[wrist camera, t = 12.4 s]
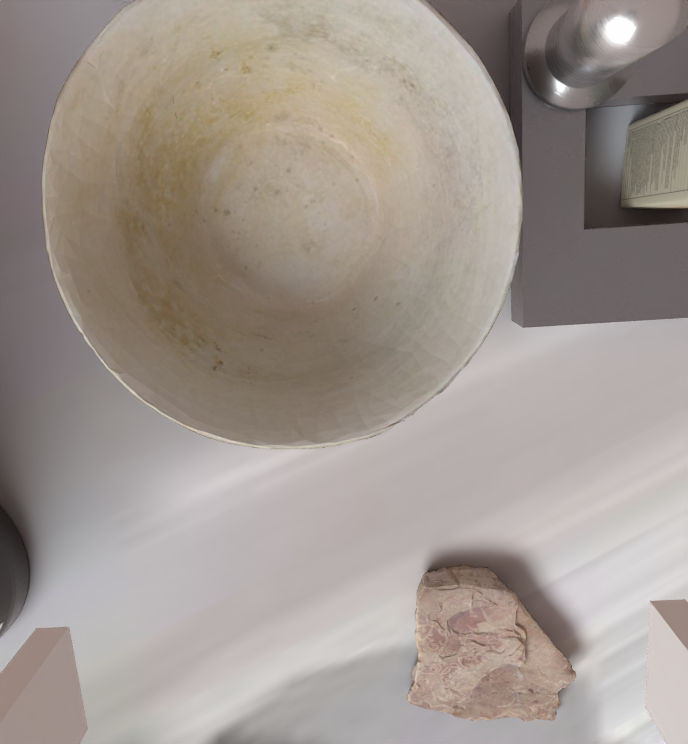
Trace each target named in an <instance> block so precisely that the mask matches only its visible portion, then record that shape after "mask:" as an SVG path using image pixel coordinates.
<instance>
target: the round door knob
mask: <svg viewBox="0 0 688 744" xmlns="http://www.w3.org/2000/svg"><path fill="white" fill-rule="evenodd" d="M687 26H688V0H550V1H548V2H547V3H546V5H545V6H544V7H543V8H542V9H541V10H540V11H539V12H538V14H537V15H536V16H535V18H534V19H533V21H532V22H531V24H530V26H529V28H528V30H527V33H526V36H525V39H524V43H523V49H522V63H523V69H524V73H525V76H526V79H527V81H528V83H529V85H530V87H531V88H532V90H533V91H534V92H535V94H536V95H537V96H538V97H539V98H540V99H542V100H543V101H544V102H546V103H547V104H549V105H551V106H553V107H555V108H558V109H562V110H568V111H578V110H584V109H588V108H591V107H594V106H596V105H598V104H600V103H602V102H604V101H606V100H608V99H609V98H611V97H612V96H613V95H615V94H616V93H617V92H618V91H619V90H620V89H621V88H622V87H623V86H624V84H625V83H626V82H627V81H628V79H629V77H630V76H631V74H632V72H633V70H634V68H635V65H636V62H637V60H639V59H641V58H642V57H644V56H646V55H647V54H649V53H651V52H653V51H654V50H656V49H658V48H659V47H661V46H663V45H665V44H666V43H668V42H670V41H671V40H673V39H674V38H676V37H677V36H678V35H679V34H680V33H681V32H682V31H683V30H684V29H685V28H686V27H687Z"/></svg>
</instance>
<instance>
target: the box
mask: <svg viewBox="0 0 688 744" xmlns="http://www.w3.org/2000/svg"><path fill="white" fill-rule="evenodd" d="M620 206H621V207H622V208H631V209H688V99H687V100H685V101H683V102H680V103H678V104H676V105H673V106H671V107H669V108H667V109H664V110H662V111H660V112H657V113H655V114H652V115H650V116H647V117H645V118H643V119H640V120H638V121H636V122H633V123H631V124H630V125H629V126H628V132H627V139H626V147H625V155H624V167H623V177H622V189H621V204H620Z"/></svg>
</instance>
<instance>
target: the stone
mask: <svg viewBox="0 0 688 744" xmlns="http://www.w3.org/2000/svg"><path fill="white" fill-rule="evenodd" d="M416 606H417V608H416V611H415V620H416V630H415V639H416V644H417V650H418V661H417V663H416V665H415V666H414V668H413V670H412V683H411V686H410V689H409V692H408V694H407V701H409V702H410V703H411V704H413V705H416V706H419V707H422V708H425V709H432V710H435V711H441V712H447V713H449V714H452V715H454V716H455V717H457V718H463V719H469V720H472V721H477V720H481V719H485V720H493V719H498V718H504V717H516V718H521V719H522V720H523V721H531V720H533V719H542V720H554V719H555V717H556V714H557V713H556V710H557V709H558V708H559V706H560V701H559V697H558V691H560V690H561V689H562V688H565V687H567V685H568V684H570V683H572V682H573V681H574V680H575V678H576V672H575V671H574V670H573V669H572V665H571V664H570V663H569V661H568V660H567V659H566V658H565V656H564V655H563V654H562V653H561V651H560V650H559V649H558V648H557V647H556V646H555V645H554V643H553V642H552V641H551V640H550V639H549V637H548V636H547V635H546V633H545V632H544V631H543V630H542V629H541V628H540V626H539V625H538V623H537V622H536V621H535V619H534V618H533V617H532V616H531V615H530V613H529V612H528V611H527V609H526V608H525V607H524V605H523V604H522V603H521V601H520V599H519V598H518V596H517V595H516V594H515V593H514V592H513V591H512V590H511V589H508V588H507V587H506V586H505V585H504V584H503V583H502V582H501V581H500V580H499V578H498V577H497V576H496V575H495V574H494V573H493V572H492V571H491V570H490V569H488V568H483V567H479V568H473V567H470V566H468V565H463V566H459V567H456V566H455V567H449V568H446V567H444V568H441V569H439V570H437V571H431V572H426V573H425V574H424V575H423V577H422V579H421V582H420V584H419V587H418V589H417V602H416Z"/></svg>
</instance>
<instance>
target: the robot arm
mask: <svg viewBox="0 0 688 744" xmlns="http://www.w3.org/2000/svg"><path fill="white" fill-rule="evenodd" d="M28 584H29V567H28V560H27V555H26V551H25V548H24V545H23V542H22V540H21V537H20V535H19V533H18V531H17V529H16V528H15V526H14V524H13V523H12V521H11V520H10V518H9V517H8V515H7V514H6V513H5V512H4V510H3V509H2V508H1V507H0V638H1V637H2V636H3V634H4V633H5V632H6V631H7V630H8V629H9V627H10V626H11V625H12V624H13V623H14V621H15V620H16V618H17V617H18V615H19V613H20V611H21V609H22V607H23V605H24V602H25V599H26V595H27V591H28ZM645 708H646V710H647V712H648V713H649V715H650V717H651V718H652V720H653V722H654V724H655V725H656V727H657V729H658V730H659V732H660V734H661V735H662V737H663V739H664V741H665V742H666V744H688V602H687V601H686V600H663V601H650V609H649V631H648V653H647V676H646V698H645ZM87 729H88V728H87V722H86V717H85V711H84V706H83V700H82V695H81V689H80V684H79V678H78V673H77V667H76V662H75V656H74V651H73V646H72V640H71V635H70V629H69V627H57V628H36V630H35V631H34V632H33V633H32V635H31V636H30V637H29V638H28V640H27V641H26V642H25V643H24V645H23V646H22V647H21V648H20V650H19V651H18V652H17V653H16V655H15V656H14V657H13V658H12V660H11V661H10V662H9V663H8V665H7V666H6V667H5V668H4V670H3V671H2V672H1V673H0V744H80V742H81V740H82V739H83V737H84V735H85V733H86V731H87Z"/></svg>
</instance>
